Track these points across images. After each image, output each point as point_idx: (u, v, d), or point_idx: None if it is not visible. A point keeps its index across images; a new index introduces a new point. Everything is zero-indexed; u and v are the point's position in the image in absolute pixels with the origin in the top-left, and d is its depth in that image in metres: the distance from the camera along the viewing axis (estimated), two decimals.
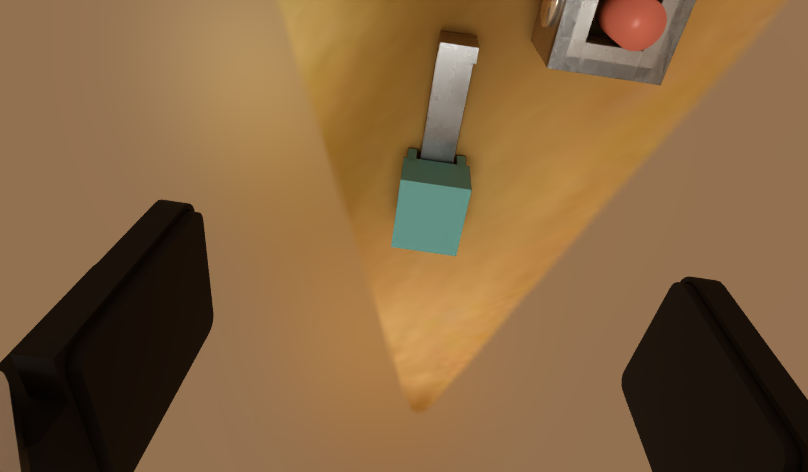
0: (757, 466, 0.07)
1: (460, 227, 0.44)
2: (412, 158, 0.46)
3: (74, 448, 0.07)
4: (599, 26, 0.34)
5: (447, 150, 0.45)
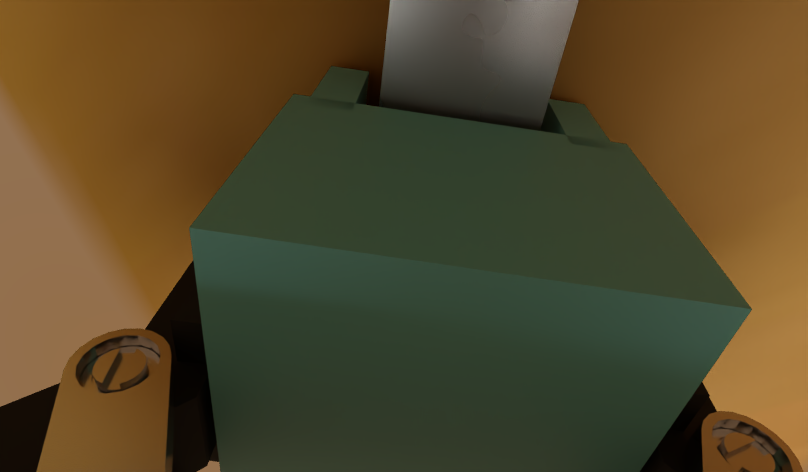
0: None
1: None
2: (334, 99, 0.09)
3: None
4: None
5: (519, 57, 0.09)
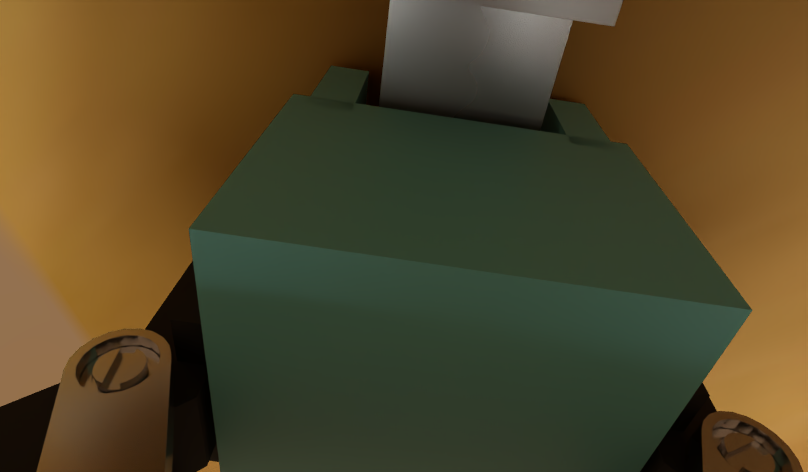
0: None
1: None
2: (333, 100, 0.09)
3: None
4: None
5: None
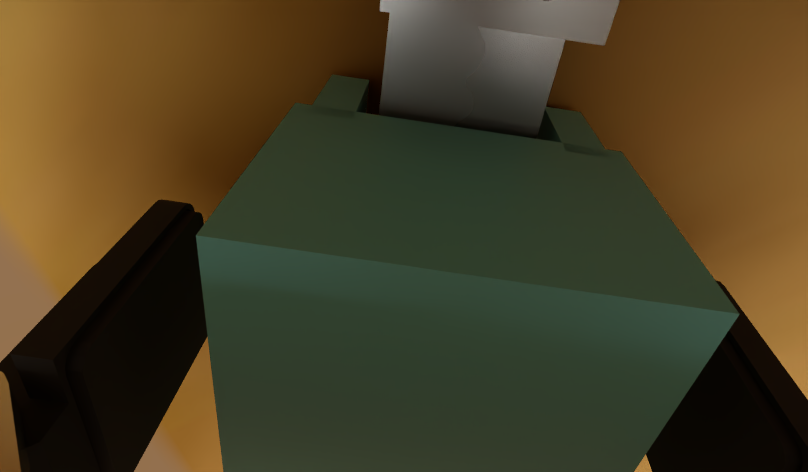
0: (757, 466, 0.07)
1: None
2: (335, 108, 0.09)
3: (74, 448, 0.07)
4: None
5: None
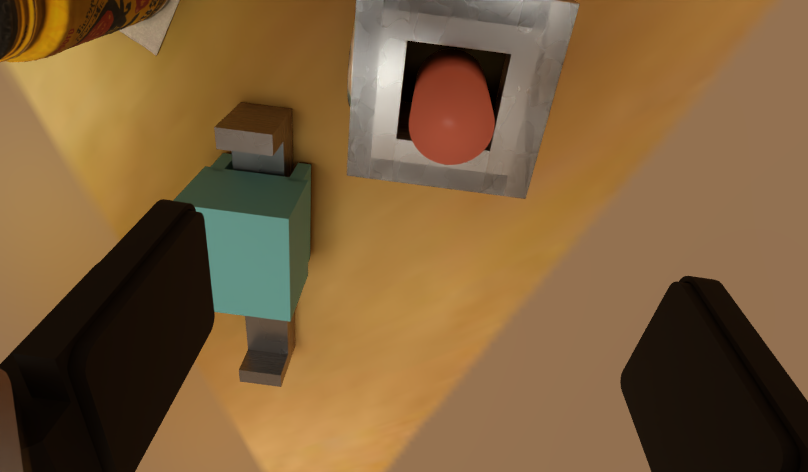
0: (755, 465, 0.07)
1: (286, 278, 0.27)
2: (217, 167, 0.29)
3: (76, 447, 0.07)
4: None
5: None
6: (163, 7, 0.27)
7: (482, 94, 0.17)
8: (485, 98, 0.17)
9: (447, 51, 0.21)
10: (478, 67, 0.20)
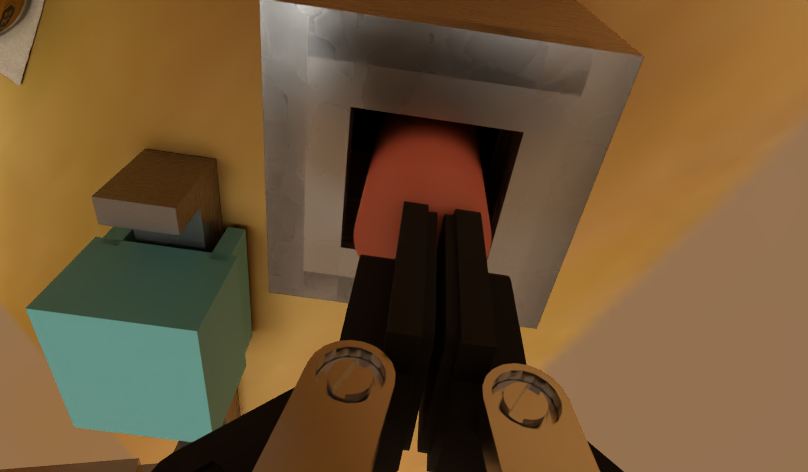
0: (438, 353, 0.08)
1: (202, 398, 0.20)
2: (112, 239, 0.21)
3: None
4: None
5: None
6: (19, 20, 0.18)
7: (472, 198, 0.10)
8: (477, 204, 0.10)
9: None
10: (467, 129, 0.13)
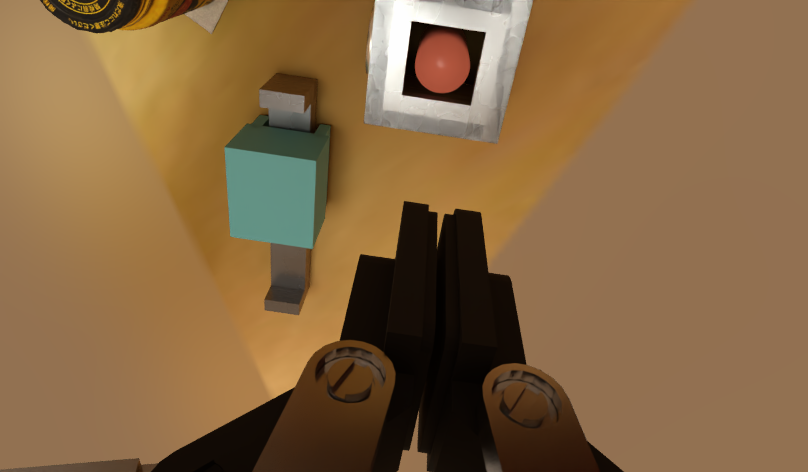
0: (438, 353, 0.08)
1: (311, 211, 0.35)
2: (257, 125, 0.36)
3: None
4: None
5: None
6: None
7: (462, 45, 0.27)
8: (464, 47, 0.27)
9: None
10: (461, 32, 0.30)
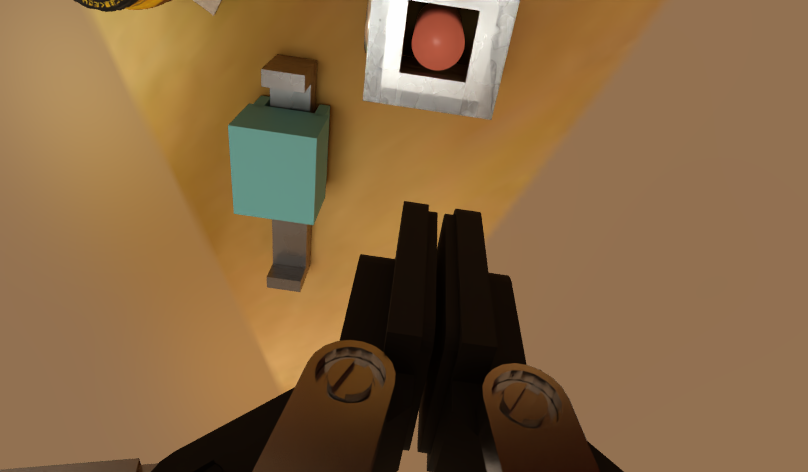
0: (438, 353, 0.08)
1: (312, 188, 0.36)
2: (258, 104, 0.37)
3: None
4: None
5: None
6: None
7: (457, 23, 0.28)
8: (458, 25, 0.28)
9: None
10: (456, 12, 0.31)
